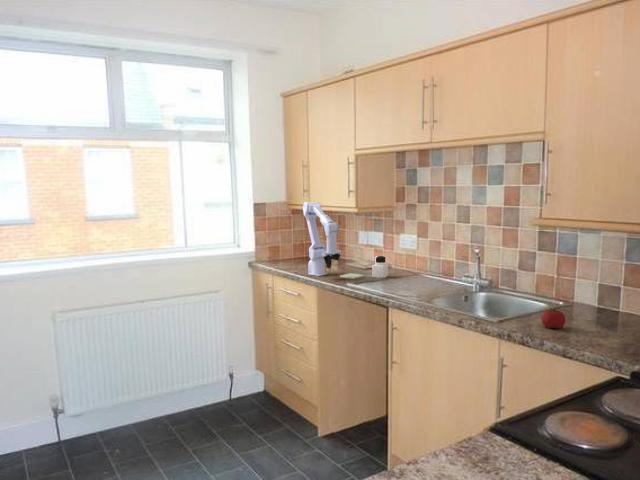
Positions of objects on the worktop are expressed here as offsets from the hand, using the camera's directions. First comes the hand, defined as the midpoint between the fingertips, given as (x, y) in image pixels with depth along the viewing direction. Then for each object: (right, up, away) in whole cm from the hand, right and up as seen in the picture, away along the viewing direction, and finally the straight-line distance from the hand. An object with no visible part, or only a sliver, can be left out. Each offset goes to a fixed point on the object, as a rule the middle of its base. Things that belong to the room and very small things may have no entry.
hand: (331, 267), depth 286 cm
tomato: (+80, -17, -100) cm, 129 cm away
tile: (+12, -6, +6) cm, 15 cm away
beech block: (0, -2, 0) cm, 2 cm away
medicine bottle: (+28, -6, +5) cm, 29 cm away
